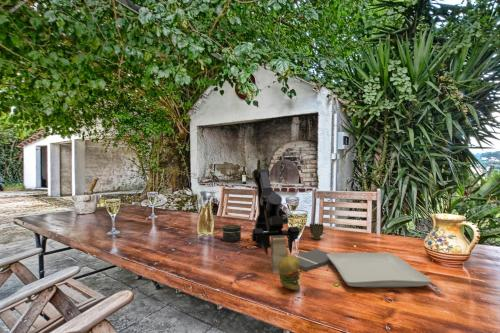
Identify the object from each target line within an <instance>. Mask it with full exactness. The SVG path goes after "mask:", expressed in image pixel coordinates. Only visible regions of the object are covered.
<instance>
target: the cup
mask: <svg viewBox="0 0 500 333" xmlns="http://www.w3.org/2000/svg"><path fill="white" fill-rule="evenodd" d="M309 231H310V235H311V236H312V238H313V240H317V241H318V240H320V239H321V236H323V233H324V224H323V223H318V222H317V223H316V222H314V223H312V222H311V223H309Z"/></svg>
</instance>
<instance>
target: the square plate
mask: <svg viewBox="0 0 500 333" xmlns="http://www.w3.org/2000/svg"><path fill="white" fill-rule="evenodd" d="M328 253H329V254H326V255H327V257H328V258H329V259H330V261H331V262H332V263H331V264H333V266H334V267H335V268H336V270H337V271H338V273H339V275H340V276H341V278H342V280H343V281H344V282H345V283H346V285H347V286H349V287H356V288H358V287H359V288H408V287H409V288H410V287H424V286H427V285H429V284H431V283H432V282H433V281H432V280H431V279H430V278H429V277H427V276H426V275H425V274H423V273H422V272H421V271H419V270H418V269H416V268H415V267H413V266H412V265H411V264H409V263H407V261H405V260H403V259H401V258H400V257H398V256H397V255H395V254H394V253H391V252H337V253H335V252H333V253H332V252H331V253H330V252H328Z"/></svg>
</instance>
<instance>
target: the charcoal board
mask: <svg viewBox="0 0 500 333" xmlns="http://www.w3.org/2000/svg"><path fill="white" fill-rule="evenodd" d="M329 253H330V252H327V251H323V250H321V249H318V248H317V249H313V250H308V251H304V252H301V253H298V259H299V260H300V263H301V266H300V268H299V269H300V270H301V271H304V272H309V271H312V270H315V269H318V268H320V267H325V266H327V265H330V264H333V263H332V262H331V261H330V259H329V258H328V257H327V255H326V254H329ZM296 255H297V254H293V255H292V256H295V257H296ZM299 269H298V270H299Z"/></svg>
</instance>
